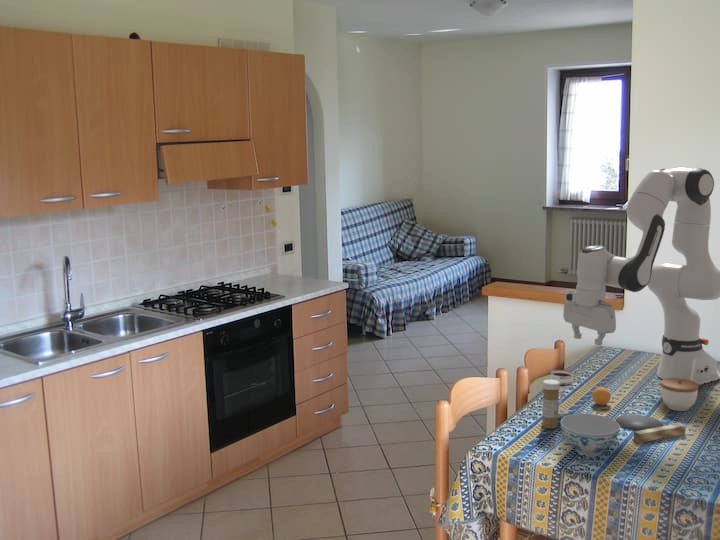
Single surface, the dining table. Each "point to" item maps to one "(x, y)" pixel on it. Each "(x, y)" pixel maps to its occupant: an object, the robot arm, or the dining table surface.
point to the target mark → (638, 422)
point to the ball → (601, 396)
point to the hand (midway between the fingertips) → (587, 341)
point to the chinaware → (589, 432)
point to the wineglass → (562, 384)
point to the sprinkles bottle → (550, 403)
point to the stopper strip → (659, 433)
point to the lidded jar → (679, 393)
